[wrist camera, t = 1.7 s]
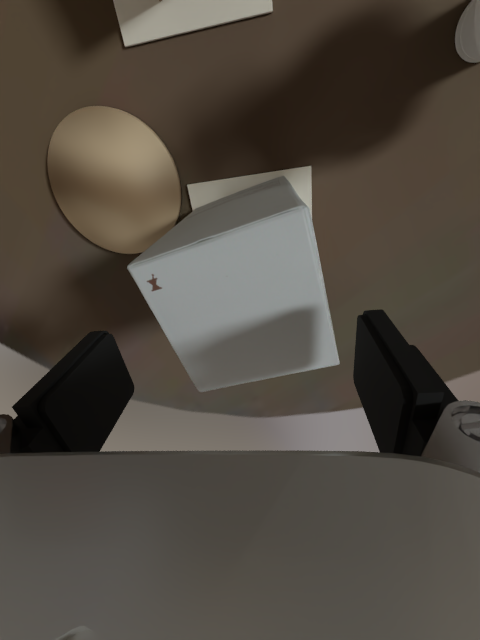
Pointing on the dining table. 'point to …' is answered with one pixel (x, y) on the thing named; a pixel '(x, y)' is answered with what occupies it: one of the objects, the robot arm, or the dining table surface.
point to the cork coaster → (114, 179)
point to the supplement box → (241, 288)
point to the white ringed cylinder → (469, 33)
